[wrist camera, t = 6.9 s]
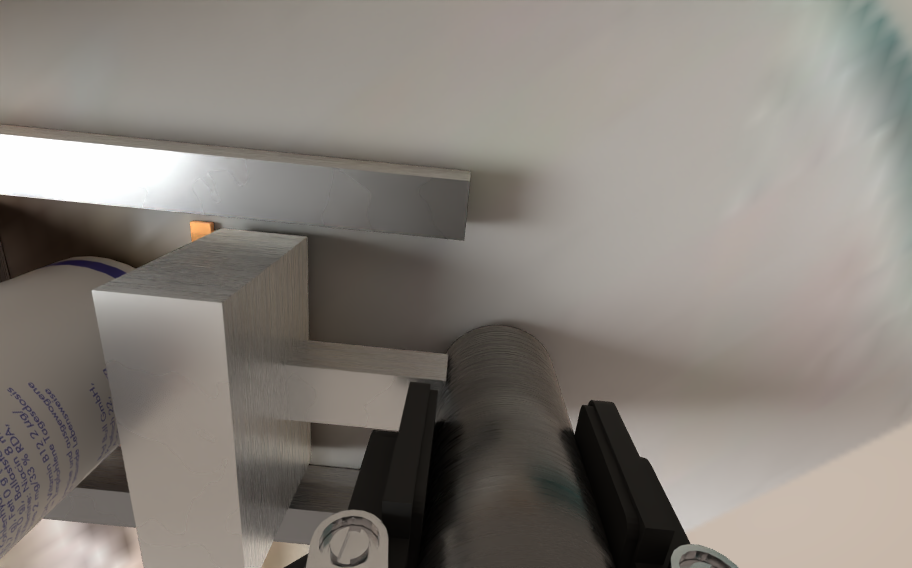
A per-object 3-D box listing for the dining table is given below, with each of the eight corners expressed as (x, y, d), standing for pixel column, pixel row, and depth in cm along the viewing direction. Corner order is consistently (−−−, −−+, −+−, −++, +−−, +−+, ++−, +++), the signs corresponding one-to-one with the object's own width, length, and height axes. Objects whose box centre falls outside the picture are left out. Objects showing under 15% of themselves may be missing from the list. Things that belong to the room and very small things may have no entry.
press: (-136, 110, 13) (-576, 111, 8) (470, 171, 13) (468, 216, 8) (-22, 464, 18) (-250, 629, 12) (435, 509, 18) (418, 694, 12)
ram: (221, 228, 14) (-319, 485, 4) (575, 262, 14) (796, 594, 4) (239, 451, 17) (-66, 901, 7) (533, 480, 17) (613, 968, 7)
